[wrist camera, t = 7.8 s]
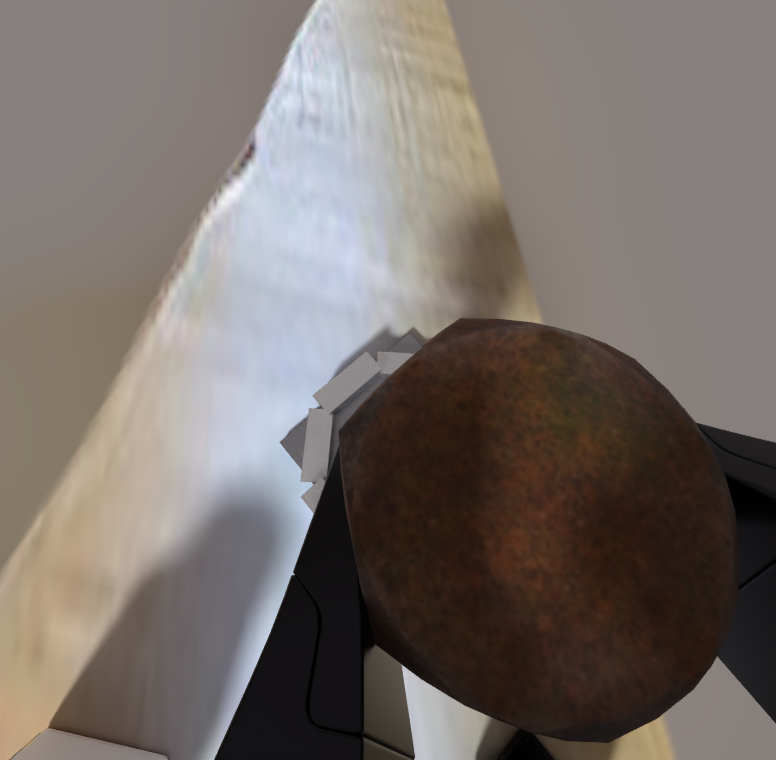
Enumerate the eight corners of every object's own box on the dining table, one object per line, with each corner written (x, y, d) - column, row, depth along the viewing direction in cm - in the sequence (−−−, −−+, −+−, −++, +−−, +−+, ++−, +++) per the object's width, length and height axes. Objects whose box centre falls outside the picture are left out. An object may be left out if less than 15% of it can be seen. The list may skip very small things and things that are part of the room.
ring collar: (532, 455, 20) (552, 457, 17) (398, 600, 17) (401, 623, 15) (408, 325, 21) (412, 312, 19) (269, 441, 19) (256, 441, 17)
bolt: (434, 408, 19) (522, 252, 5) (490, 463, 18) (840, 479, 3) (373, 468, 18) (252, 498, 4) (427, 530, 17) (547, 917, 3)
